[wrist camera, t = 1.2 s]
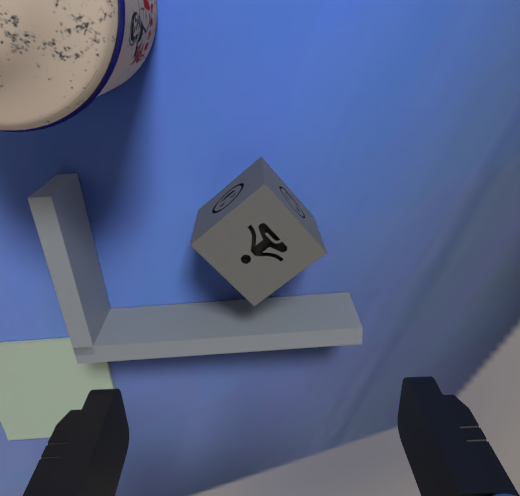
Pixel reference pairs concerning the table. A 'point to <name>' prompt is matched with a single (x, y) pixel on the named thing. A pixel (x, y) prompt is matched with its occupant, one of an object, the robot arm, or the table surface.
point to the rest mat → (44, 385)
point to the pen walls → (168, 316)
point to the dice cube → (257, 233)
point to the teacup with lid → (67, 55)
